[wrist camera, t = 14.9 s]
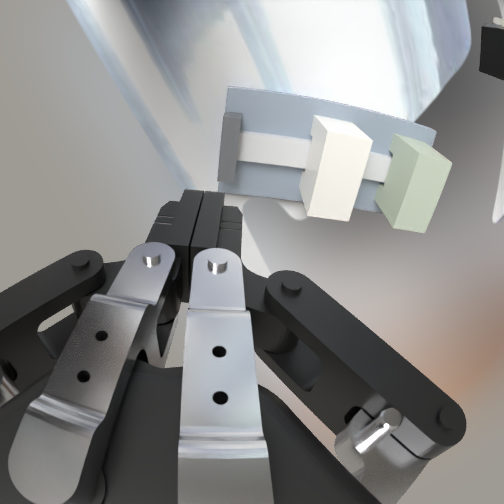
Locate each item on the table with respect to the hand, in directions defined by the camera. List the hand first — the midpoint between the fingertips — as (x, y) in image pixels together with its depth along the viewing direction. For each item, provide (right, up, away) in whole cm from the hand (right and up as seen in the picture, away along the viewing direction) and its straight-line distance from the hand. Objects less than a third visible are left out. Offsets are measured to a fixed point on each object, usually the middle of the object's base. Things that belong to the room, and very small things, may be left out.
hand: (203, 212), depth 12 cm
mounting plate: (+12, +11, +28) cm, 32 cm away
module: (+11, +11, +26) cm, 31 cm away
